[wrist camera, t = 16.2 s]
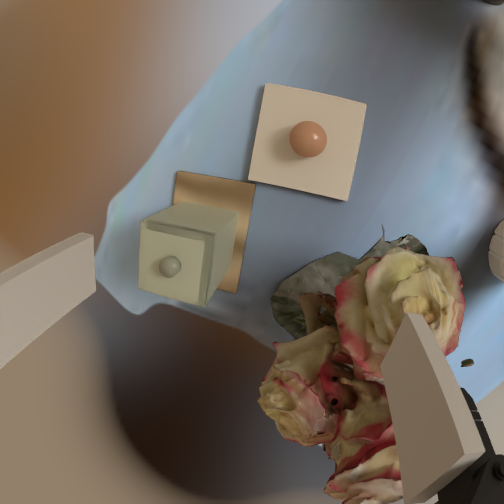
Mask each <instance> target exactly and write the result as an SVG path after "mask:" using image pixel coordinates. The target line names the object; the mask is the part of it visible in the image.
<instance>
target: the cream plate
mask: <svg viewBox="0 0 504 504" xmlns="http://www.w3.org/2000/svg"><path fill="white" fill-rule="evenodd" d="M366 106H367V104H364V103H360V102H357V101H353V100H349V99H345V98H341V97H337V96H333V95H328V94H324V93H319V92H315V91H310V90H305V89H300V88H294V87H288V86H283V85H276V84H270V83H266V84H265V89H264V94H263V100H262V105H261V110H260V116H259V121H258V126H257V132H256V137H255V143H254V149H253V154H252V160H251V165H250V171H249V177H248V180H252V181H258V182H263V183H268V184H273V185H278V186H282V187H287V188H292V189H296V190H301V191H306V192H310V193H314V194H319V195H323V196H327V197H331V198H336V199H340V200H344V201H347V200H348V196H349V192H350V188H351V183H352V179H353V174H354V169H355V165H356V160H357V155H358V150H359V145H360V140H361V135H362V129H363V124H364V118H365V112H366Z"/></svg>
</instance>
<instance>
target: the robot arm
mask: <svg viewBox="0 0 504 504" xmlns="http://www.w3.org/2000/svg"><path fill="white" fill-rule="evenodd" d="M483 1H485V2H487V3H490V4H494V5H500V4H503V3H504V0H483ZM95 291H96V283H95V265H94V236H93V235H90V234H87V233H83V232H80V233H78V234H76V235H74V236H71V237H69V238H67V239H65V240H63V241H61V242H59V243H57V244H55V245H53V246H51V247H49V248H47V249H45V250H43V251H41V252H39V253H37V254H35V255H33V256H31V257H29V258H27V259H25V260H23V261H21V262H19V263H17V264H15V265H14V266H12V267H10V268H8V269H6V270H4V271H3V272H1V273H0V369H1V368H2V367H3V366H4V365H6V364H7V363H8V362H9V361H10V360H11V359H13V358H14V357H15V356H16V355H17V354H18V353H19V352H21V351H22V350H23V349H24V348H25V347H26V346H28V345H29V344H30V343H31V342H32V341H34V340H35V339H36V338H37V337H38V336H39V335H41V334H42V333H43V332H44V331H46V330H47V329H48V328H49V327H51V326H52V325H53V324H54V323H55V322H57V321H58V320H59V319H61V318H62V317H63V316H64V315H66V314H67V313H68V312H69V311H71V310H72V309H73V308H74V307H75V306H77V305H78V304H80V302H82V301H83V300H85V299H86V298H87V297H89V296H90V295H91V294H92V293H94V292H95ZM380 368H381V372H382V376H383V380H384V385H385V389H386V394H387V399H388V403H389V408H390V413H391V418H392V424H393V429H394V435H395V440H396V446H397V453H398V459H399V466H400V473H401V481H402V489H403V499H404V504H413V503H422V502H426V501H427V500H429V499H430V498H431V497H433V496H434V495H435V494H438V500H439V501H437V502H436V503H435V504H504V455H496V454H495V452H494V449H493V447H492V444H491V441H490V439H489V436H488V434H487V431H486V429H485V426H484V424H483V421H481V417H480V414H479V412H477V407H476V405H475V403H474V401H473V399H472V397H471V396H470V395H469V394H468V393H467V391H466V390H465V389H464V388H460V387H459V385H458V383H457V380H456V378H455V376H454V374H453V372H452V370H451V368H450V366H449V364H448V362H447V360H446V358H445V356H444V354H443V352H442V350H441V348H440V346H439V344H438V342H437V340H436V339H435V337H434V335H433V333H432V331H431V329H430V328H429V326H428V324H427V322H426V320H425V319H424V317H423V315H420V314H415V313H410V312H406V314H405V316H404V318H403V321H402V323H401V325H400V327H399V329H398V331H397V333H396V335H395V338H394V340H393V342H392V344H391V346H390V348H389V350H388V351H387V353H386V355H385V357H384V359H383V361H382V363H381V365H380Z"/></svg>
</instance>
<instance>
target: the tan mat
mask: <svg viewBox="0 0 504 504" xmlns="http://www.w3.org/2000/svg"><path fill="white" fill-rule="evenodd" d="M255 187H256V184H253V183H248V182H242V181H237V180H231V179H226V178H220V177H214V176H208V175H202V174H196V173H190V172H183V171H177V177H176V185H175V193H174V202H173V206H174V205H176V204H178V203H180V202H183V201H186V202H191V203H197V204H202V205H207V206H212V207H217V208H222V209H227V210H232V211H237V212H239V217H238V223H237V229H236V235H235V241H234V247H233V253H232V259H231V266H230V268H229V270H228V271H227V273H226V274H225V276H224V277H223V279H222V281H221V282H220V284H219V285H218V287H217V289H219V290H224V291H228V292H232V293H237V289H238V283H239V278H240V272H241V266H242V260H243V255H244V249H245V243H246V238H247V232H248V226H249V221H250V215H251V210H252V204H253V198H254V193H255Z"/></svg>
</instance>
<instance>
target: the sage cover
mask: <svg viewBox="0 0 504 504" xmlns="http://www.w3.org/2000/svg"><path fill="white" fill-rule="evenodd" d="M238 217H239V212H237V211H232V210H227V209H222V208H217V207H212V206H207V205H202V204H197V203H191V202H186V201H183V202H180V203H178V204H176V205H174V206H171V207H169V208H167V209H165V210H162V211H160V212H158V213H156V214H154V215H152V216H149V217H147V218H145V219H143V220H141V228H140V249H139V289H141V290H145V291H148V292H151V293H155V294H158V295H162V296H165V297H168V298H172V299H176V300H179V301H183V302H186V303H190V304H194V305H197V306H201V307H205V306H206V304H207V303H208V301H209V300H210V298H211V296H212V295H213V293H214V292H215V290H216V289H217V287H218V285H219V284H220V282H221V281H222V279H223V277H224V276H225V274H226V273H227V271H228V270H229V268H230V266H231V259H232V253H233V247H234V241H235V235H236V229H237V223H238Z"/></svg>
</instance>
